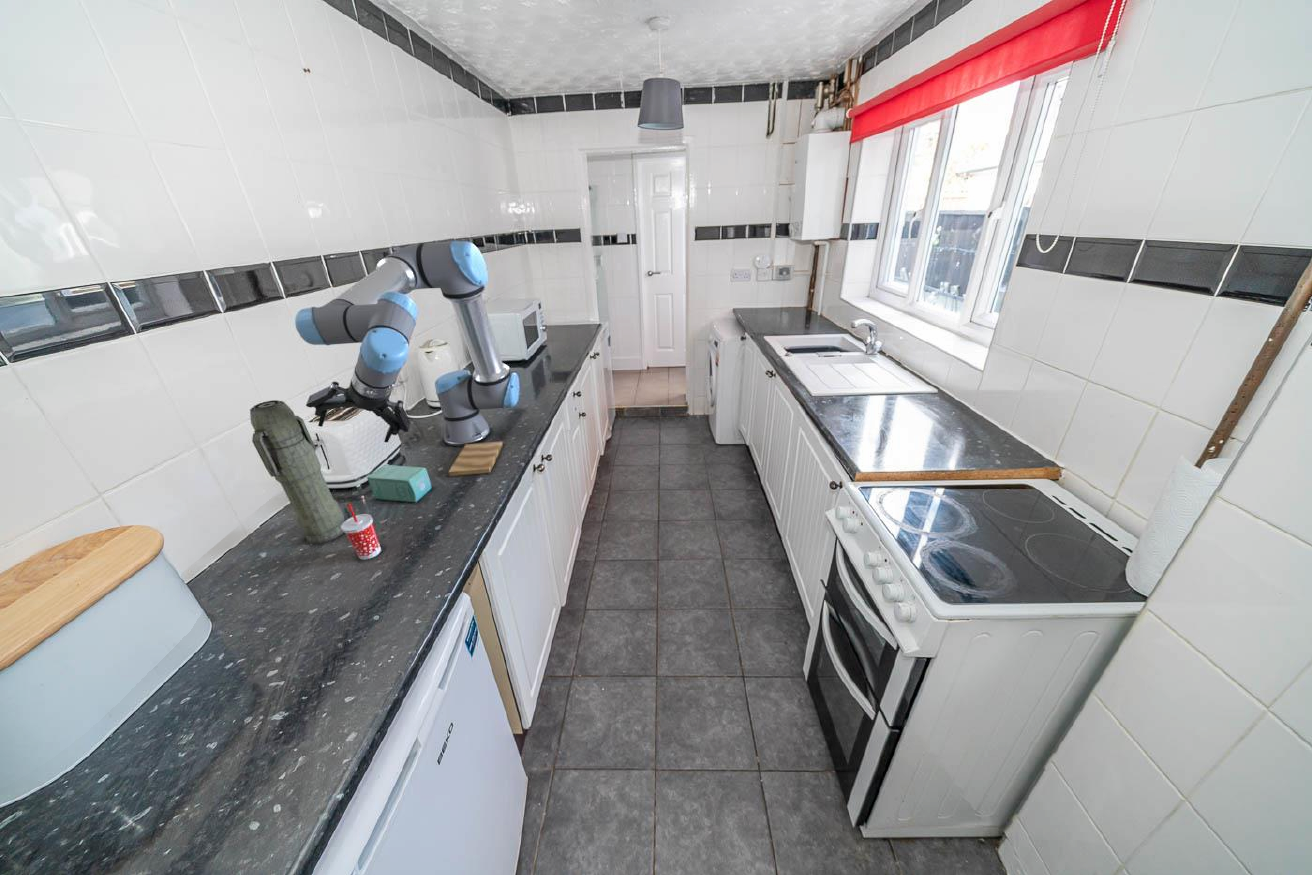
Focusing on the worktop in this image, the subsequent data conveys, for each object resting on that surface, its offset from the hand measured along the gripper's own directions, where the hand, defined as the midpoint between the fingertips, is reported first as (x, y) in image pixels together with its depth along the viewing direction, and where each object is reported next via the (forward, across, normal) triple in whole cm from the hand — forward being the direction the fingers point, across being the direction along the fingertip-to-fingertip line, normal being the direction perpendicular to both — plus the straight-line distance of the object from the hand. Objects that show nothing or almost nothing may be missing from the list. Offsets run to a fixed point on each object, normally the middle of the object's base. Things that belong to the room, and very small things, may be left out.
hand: (355, 429), depth 109 cm
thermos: (+21, +2, -19) cm, 29 cm away
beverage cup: (+8, +11, -27) cm, 30 cm away
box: (+20, +16, -6) cm, 27 cm away
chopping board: (+18, +34, +10) cm, 40 cm away
